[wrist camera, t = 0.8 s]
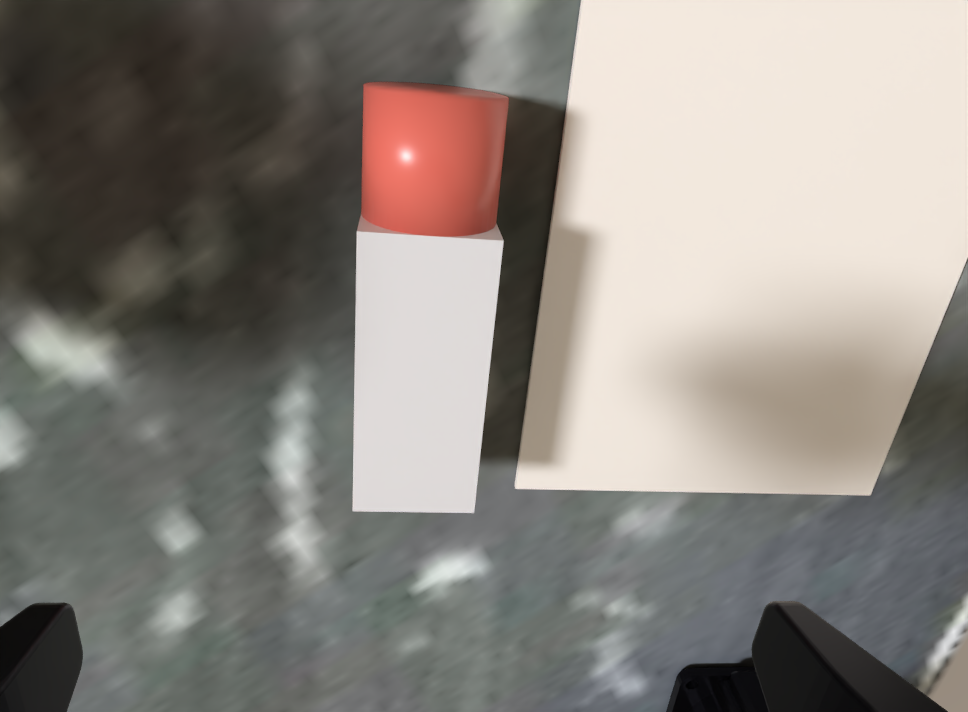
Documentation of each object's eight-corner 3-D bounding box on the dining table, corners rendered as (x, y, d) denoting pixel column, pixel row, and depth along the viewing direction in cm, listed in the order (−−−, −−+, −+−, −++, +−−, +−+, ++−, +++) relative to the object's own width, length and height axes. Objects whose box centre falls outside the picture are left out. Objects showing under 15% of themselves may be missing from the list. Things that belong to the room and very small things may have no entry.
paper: (867, 491, 25) (870, 495, 25) (514, 485, 24) (515, 488, 24) (1103, -89, 18) (1109, -90, 17) (602, -158, 16) (605, -161, 16)
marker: (465, 446, 23) (473, 512, 20) (360, 443, 22) (352, 511, 19) (500, 90, 18) (518, 106, 15) (367, 78, 18) (358, 92, 15)
